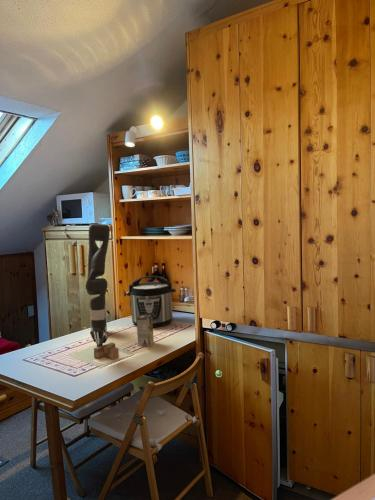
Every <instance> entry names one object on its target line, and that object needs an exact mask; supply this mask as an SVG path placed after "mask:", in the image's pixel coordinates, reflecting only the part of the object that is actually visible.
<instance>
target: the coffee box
mask: <svg viewBox="0 0 375 500" xmlns="http://www.w3.org/2000/svg"><path fill="white" fill-rule="evenodd" d="M136 331H137V333H136V334H137V346H138V347H144V348H147V349H149V348H150V347H151V346H152V345H153V344H154V343H155V341H154V327H153V319H152V315H141V316H139V317H138V318H137V326H136Z"/></svg>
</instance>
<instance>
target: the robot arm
mask: <svg viewBox="0 0 375 500" xmlns="http://www.w3.org/2000/svg"><path fill="white" fill-rule="evenodd" d="M110 232H111V230H110V226H109V224H104V223H103V224H102V223H91V224H90V225H89V227H88V257H87V258H88V260H87V278H86V279H87V280H86V282H85V290H86V292H87V295H89V296H93V297H91V298H90V301H89V309H90V310H89V311H90V318H89V321H90V331H89V334H90V337H91V338H92V340H93V342H94V343H95V345H97V347H99V346H102V345H103V344H105V343H106V342H107V340H108V339H109V335H110V334H108V328H107V327H108V326H107V325H108V324H107V308H106V307H107V305H106V293H107V289H108V285H109V284H108V281H107V279H105V278H103V277H102V276H103V275H105V271H106V259H107V252H108V248H109V241H110V235H111V234H110ZM97 242H102V243H101V245H100V247H99V246H98V245H97Z"/></svg>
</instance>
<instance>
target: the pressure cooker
mask: <svg viewBox="0 0 375 500" xmlns="http://www.w3.org/2000/svg"><path fill="white" fill-rule="evenodd" d="M143 279H147V281H146V282H141V281H142V280H143ZM155 279H158V280H159V281H154V280H155ZM140 282H141V283H140ZM172 293H176V288H172V282H171V281H168V279H167V278H164V277H163V276H158V275H146V276H145V275H144V276H142V277H139V278H136V279H135V280H133V281H132V283H131V284H129V285H128V291H126V292H125V295H126V296H129V297H130V307H131V308H130V311H131V321H132V323H133V325H135V327H137V318H138V317H139V316H141V315H152V319H153V328H156V327H163V326H166V325H168V324H171V323H172V320H173V316H174V315H173V301H172V300H173V299H172Z"/></svg>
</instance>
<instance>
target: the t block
mask: <svg viewBox="0 0 375 500" xmlns="http://www.w3.org/2000/svg"><path fill="white" fill-rule="evenodd" d="M104 344H105V343H104ZM104 357H105V358H108V359H111V360H115V359H117V360H119V359H118V358H119V351H118V347H116V343H114V342H108V343H106V344H105V345H102V346H99V347H96V348H94V358H95V359H101V358H104ZM115 361H116V360H115Z"/></svg>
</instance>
